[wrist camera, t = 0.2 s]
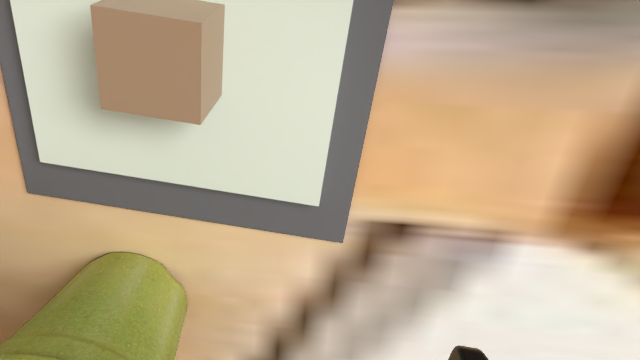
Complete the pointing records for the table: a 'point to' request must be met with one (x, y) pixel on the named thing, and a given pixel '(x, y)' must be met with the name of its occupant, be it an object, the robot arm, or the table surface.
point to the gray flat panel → (212, 204)
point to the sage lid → (187, 89)
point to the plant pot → (107, 315)
